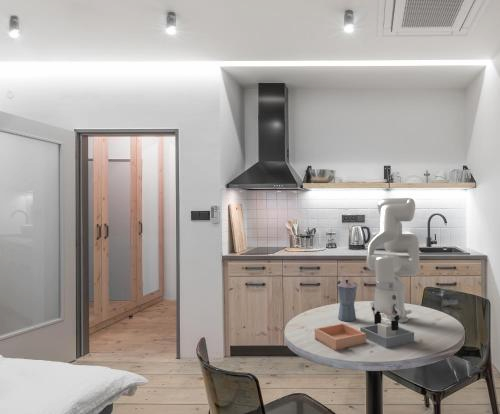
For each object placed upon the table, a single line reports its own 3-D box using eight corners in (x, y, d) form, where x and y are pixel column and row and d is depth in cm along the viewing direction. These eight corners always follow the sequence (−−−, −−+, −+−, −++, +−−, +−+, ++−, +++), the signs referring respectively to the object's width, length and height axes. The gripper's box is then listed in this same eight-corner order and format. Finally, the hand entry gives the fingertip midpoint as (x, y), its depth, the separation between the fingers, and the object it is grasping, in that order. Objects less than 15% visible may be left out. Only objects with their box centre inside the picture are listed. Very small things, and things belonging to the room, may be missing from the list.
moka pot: (348, 324, 177) (347, 282, 177) (329, 316, 191) (328, 277, 191) (364, 321, 181) (363, 280, 181) (344, 313, 195) (343, 275, 195)
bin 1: (343, 333, 165) (342, 323, 165) (366, 344, 151) (365, 333, 151) (314, 338, 159) (314, 328, 159) (335, 351, 145) (335, 339, 145)
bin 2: (387, 332, 165) (387, 322, 165) (414, 343, 151) (414, 332, 151) (360, 337, 159) (360, 327, 159) (386, 349, 145) (385, 338, 145)
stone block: (386, 335, 158) (386, 321, 158) (395, 339, 154) (395, 325, 154) (377, 337, 156) (377, 323, 156) (386, 341, 152) (386, 327, 152)
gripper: (408, 288, 148) (409, 331, 148) (377, 281, 164) (378, 320, 164) (393, 290, 145) (394, 334, 145) (364, 283, 161) (364, 322, 161)
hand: (386, 326), depth 154 cm, fingers open, 9 cm apart
